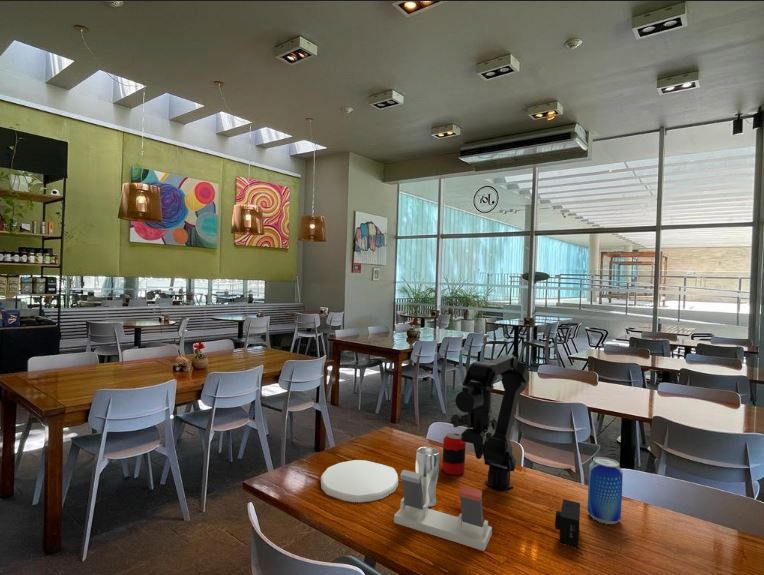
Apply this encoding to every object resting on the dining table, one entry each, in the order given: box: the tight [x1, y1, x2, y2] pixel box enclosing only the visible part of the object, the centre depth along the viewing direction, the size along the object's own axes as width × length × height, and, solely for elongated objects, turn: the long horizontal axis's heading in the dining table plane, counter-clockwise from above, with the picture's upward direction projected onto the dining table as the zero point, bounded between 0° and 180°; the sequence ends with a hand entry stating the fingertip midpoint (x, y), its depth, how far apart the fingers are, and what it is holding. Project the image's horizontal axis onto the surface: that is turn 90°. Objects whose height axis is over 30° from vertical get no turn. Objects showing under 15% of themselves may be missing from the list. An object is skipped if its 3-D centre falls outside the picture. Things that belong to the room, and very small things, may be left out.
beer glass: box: [414, 446, 440, 508], centre depth 126 cm, size 7×7×15 cm
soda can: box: [441, 432, 467, 476], centre depth 149 cm, size 8×8×12 cm
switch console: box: [393, 496, 493, 552], centre depth 113 cm, size 8×24×5 cm, turn 63°
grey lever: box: [400, 469, 424, 510], centre depth 115 cm, size 2×5×11 cm, turn 63°
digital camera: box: [554, 499, 581, 549], centre depth 112 cm, size 10×5×7 cm, turn 154°
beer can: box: [587, 456, 624, 525], centre depth 121 cm, size 8×8×16 cm
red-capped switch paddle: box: [458, 485, 484, 527], centre depth 107 cm, size 2×5×11 cm, turn 63°
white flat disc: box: [320, 459, 399, 504], centre depth 137 cm, size 25×4×25 cm
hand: (478, 458), depth 127 cm, fingers closed
